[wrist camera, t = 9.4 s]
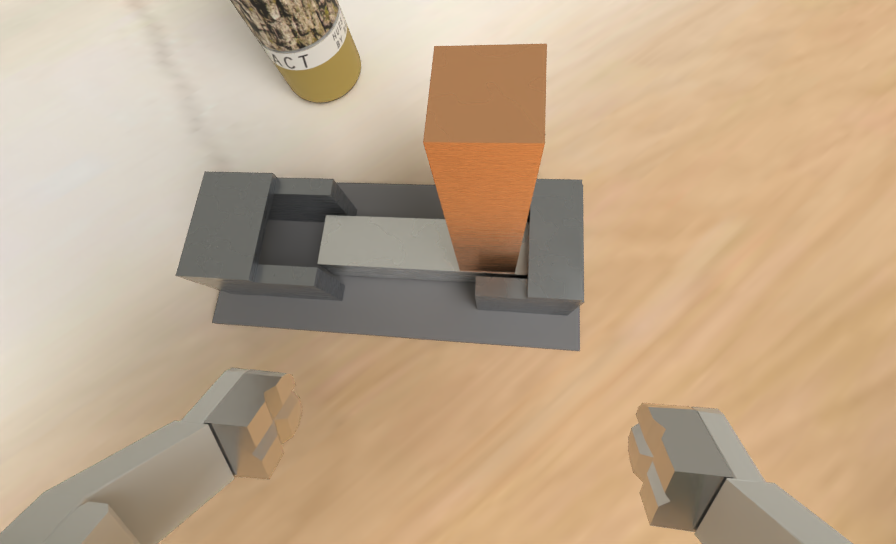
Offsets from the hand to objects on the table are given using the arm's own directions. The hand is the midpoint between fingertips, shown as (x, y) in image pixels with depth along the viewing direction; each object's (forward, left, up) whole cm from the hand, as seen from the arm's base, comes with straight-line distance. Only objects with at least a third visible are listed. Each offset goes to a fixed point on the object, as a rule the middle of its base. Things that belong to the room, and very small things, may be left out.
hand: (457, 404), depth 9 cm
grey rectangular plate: (-7, +9, -18) cm, 21 cm away
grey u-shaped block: (-15, +9, -18) cm, 25 cm away
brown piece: (-4, +9, -17) cm, 19 cm away
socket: (+3, +9, -18) cm, 20 cm away
